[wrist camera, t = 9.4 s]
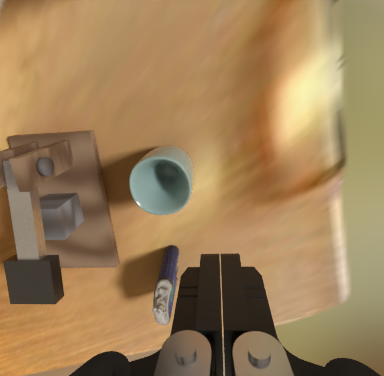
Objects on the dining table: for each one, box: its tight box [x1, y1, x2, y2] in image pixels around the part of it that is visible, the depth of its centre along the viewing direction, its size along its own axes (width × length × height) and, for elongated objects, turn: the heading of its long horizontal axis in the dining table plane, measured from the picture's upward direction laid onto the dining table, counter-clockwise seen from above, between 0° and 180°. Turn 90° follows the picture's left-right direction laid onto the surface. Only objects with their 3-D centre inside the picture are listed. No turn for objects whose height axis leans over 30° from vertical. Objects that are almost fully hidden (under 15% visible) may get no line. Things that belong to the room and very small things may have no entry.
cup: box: [129, 145, 194, 215], centre depth 37 cm, size 8×8×10 cm
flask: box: [152, 245, 179, 325], centre depth 43 cm, size 9×3×11 cm, turn 175°
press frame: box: [0, 131, 119, 268], centre depth 40 cm, size 24×13×12 cm, turn 4°
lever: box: [3, 161, 64, 304], centre depth 35 cm, size 19×6×2 cm, turn 4°
